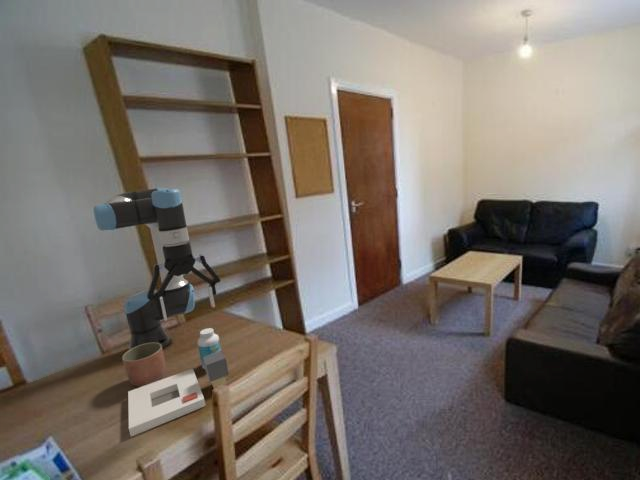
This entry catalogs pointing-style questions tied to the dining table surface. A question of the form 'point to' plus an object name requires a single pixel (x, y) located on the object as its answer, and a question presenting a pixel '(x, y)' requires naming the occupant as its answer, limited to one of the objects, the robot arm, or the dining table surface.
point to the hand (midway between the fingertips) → (190, 312)
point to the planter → (144, 364)
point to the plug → (216, 368)
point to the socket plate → (163, 401)
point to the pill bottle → (208, 343)
